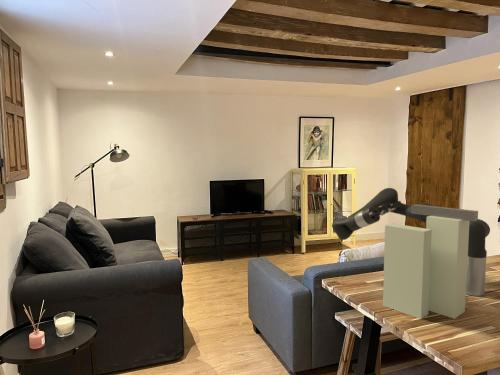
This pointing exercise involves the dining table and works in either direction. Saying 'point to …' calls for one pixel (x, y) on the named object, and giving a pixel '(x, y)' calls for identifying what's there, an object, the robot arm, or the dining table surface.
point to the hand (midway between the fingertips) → (395, 203)
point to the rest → (407, 269)
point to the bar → (445, 212)
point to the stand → (448, 265)
